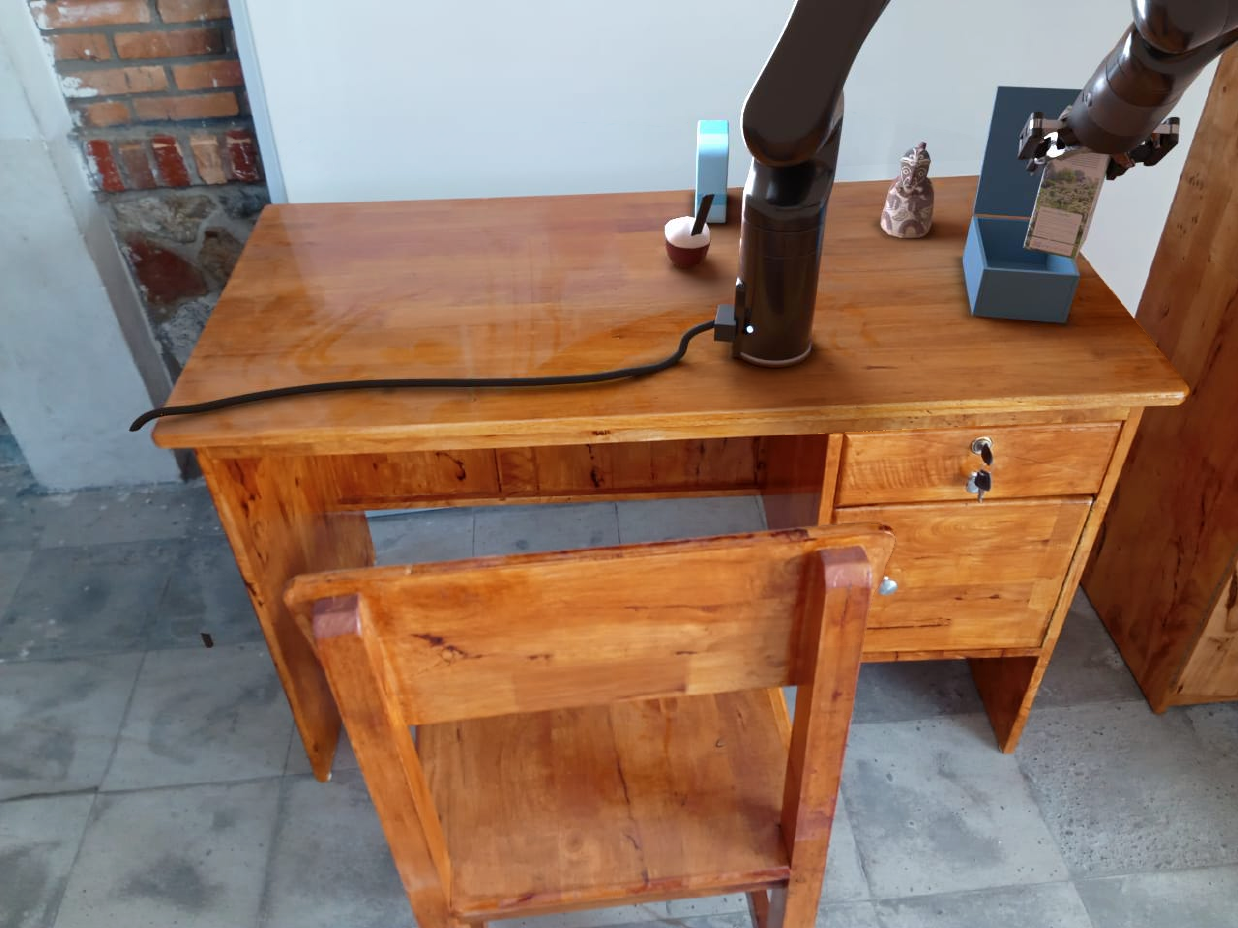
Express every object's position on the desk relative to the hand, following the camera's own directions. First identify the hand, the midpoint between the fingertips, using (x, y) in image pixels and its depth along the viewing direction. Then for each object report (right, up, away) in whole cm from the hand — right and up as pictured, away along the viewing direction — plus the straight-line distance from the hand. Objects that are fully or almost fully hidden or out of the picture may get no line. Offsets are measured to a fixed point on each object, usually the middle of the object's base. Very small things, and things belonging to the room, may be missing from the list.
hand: (1071, 170), depth 103 cm
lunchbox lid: (+4, +8, +20) cm, 22 cm away
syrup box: (0, -7, +4) cm, 8 cm away
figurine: (-7, +3, +38) cm, 39 cm away
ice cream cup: (-39, -4, +31) cm, 50 cm away
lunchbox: (+3, -9, +23) cm, 25 cm away
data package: (-35, +7, +44) cm, 57 cm away
